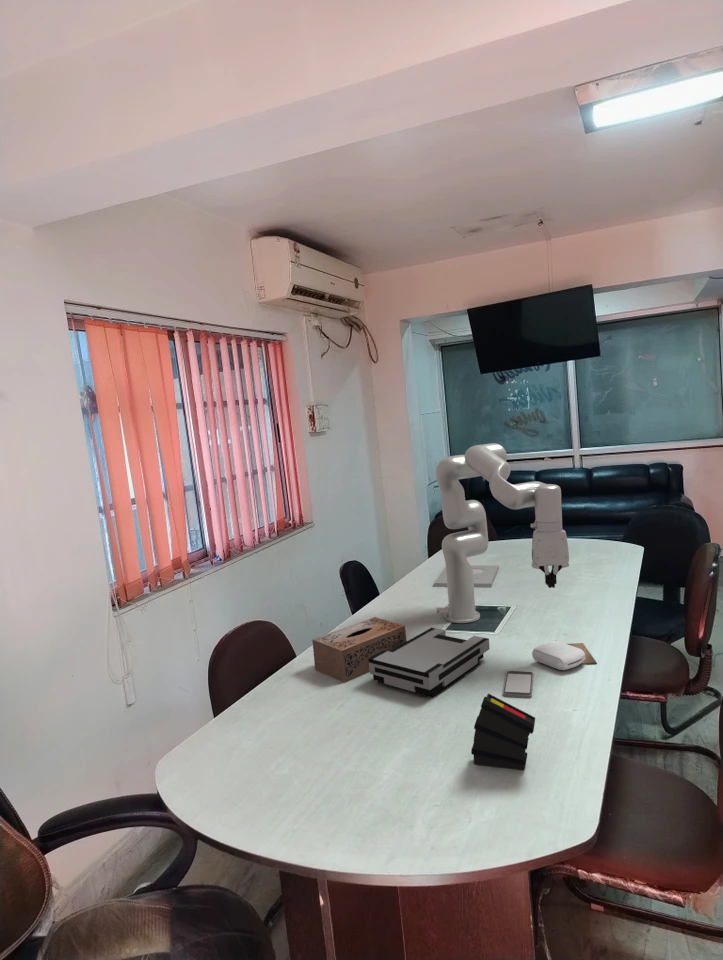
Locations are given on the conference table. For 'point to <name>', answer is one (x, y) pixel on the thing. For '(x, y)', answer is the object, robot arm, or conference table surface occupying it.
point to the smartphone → (518, 684)
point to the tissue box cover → (355, 647)
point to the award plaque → (481, 576)
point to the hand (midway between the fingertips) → (551, 586)
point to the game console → (428, 662)
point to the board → (588, 656)
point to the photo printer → (558, 655)
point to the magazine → (501, 735)
